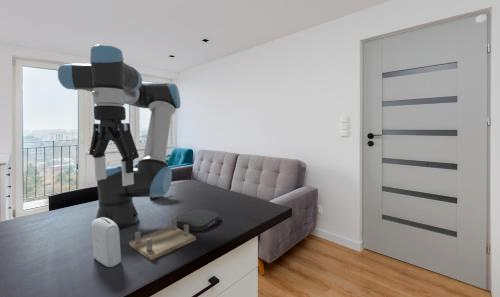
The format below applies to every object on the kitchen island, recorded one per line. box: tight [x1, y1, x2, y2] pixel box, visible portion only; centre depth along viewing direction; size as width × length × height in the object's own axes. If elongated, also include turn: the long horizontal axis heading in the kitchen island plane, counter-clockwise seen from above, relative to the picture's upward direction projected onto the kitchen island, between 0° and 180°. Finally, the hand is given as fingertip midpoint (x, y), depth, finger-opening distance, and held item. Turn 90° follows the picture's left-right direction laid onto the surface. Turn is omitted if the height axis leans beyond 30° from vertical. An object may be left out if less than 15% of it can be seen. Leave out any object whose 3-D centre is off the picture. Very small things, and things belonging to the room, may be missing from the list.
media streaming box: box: [175, 209, 220, 232], centre depth 97 cm, size 15×15×3 cm
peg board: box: [128, 218, 197, 261], centre depth 80 cm, size 14×16×5 cm
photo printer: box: [90, 217, 122, 268], centre depth 69 cm, size 10×4×12 cm, turn 54°
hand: (114, 182), depth 68 cm, fingers open, 13 cm apart
